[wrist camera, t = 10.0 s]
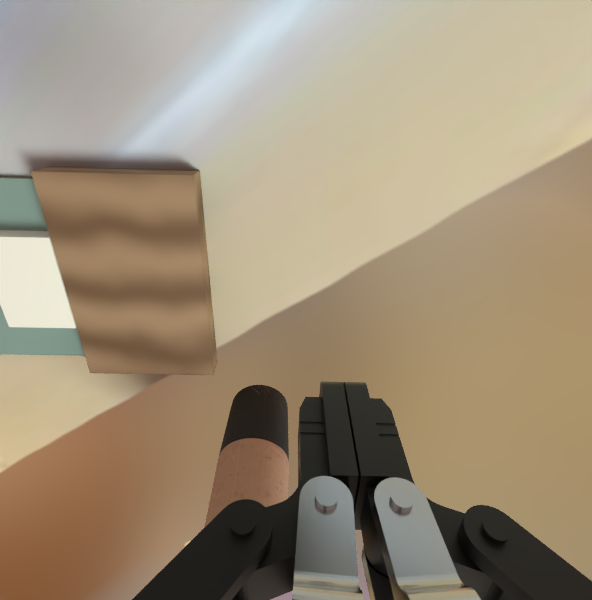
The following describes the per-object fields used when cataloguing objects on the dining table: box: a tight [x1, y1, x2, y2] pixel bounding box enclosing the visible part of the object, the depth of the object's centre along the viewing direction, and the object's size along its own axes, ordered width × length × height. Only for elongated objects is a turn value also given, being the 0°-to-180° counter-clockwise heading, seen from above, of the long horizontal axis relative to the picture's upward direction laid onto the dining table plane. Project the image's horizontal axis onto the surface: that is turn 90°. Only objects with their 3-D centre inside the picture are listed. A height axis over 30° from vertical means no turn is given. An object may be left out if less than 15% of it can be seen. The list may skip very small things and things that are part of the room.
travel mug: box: [205, 385, 289, 527], centre depth 40 cm, size 8×8×20 cm
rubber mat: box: [0, 177, 85, 356], centre depth 39 cm, size 20×13×1 cm, turn 179°
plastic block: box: [0, 230, 76, 328], centre depth 38 cm, size 10×7×2 cm
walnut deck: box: [31, 167, 217, 375], centre depth 39 cm, size 22×14×2 cm, turn 179°
